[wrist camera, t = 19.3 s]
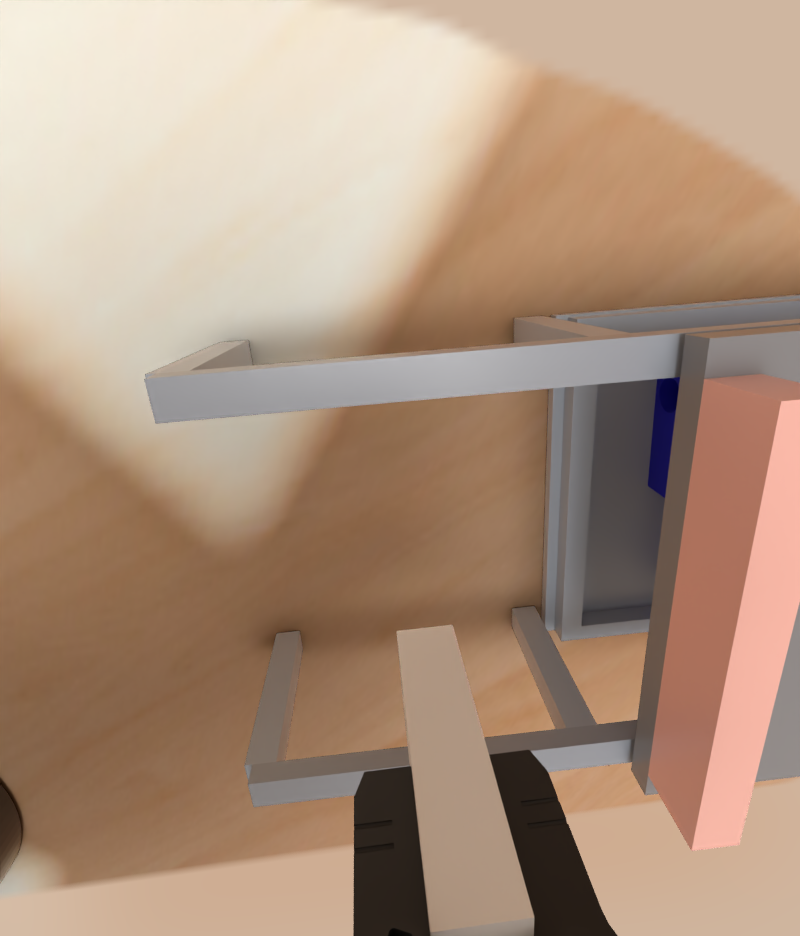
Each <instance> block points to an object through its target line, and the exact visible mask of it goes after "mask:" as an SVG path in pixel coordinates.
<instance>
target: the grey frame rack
mask: <svg viewBox="0 0 800 936" xmlns="http://www.w3.org/2000/svg"><path fill="white" fill-rule="evenodd" d="M790 325H800V294H796V295H784V296H772V297H760V298H748V299H736V300H724V301H712V302H700V303H688V304H676V305H664V306H652V307H640V308H628V309H616V310H603V311H591V312H579V313H567V314H555V315H551V317H546V316H531V317H519V318H514V343H509V344H498V345H486V346H474V347H462V348H450V349H439V350H427V351H415V352H403V353H392V354H380V355H368V356H356V357H345V358H333V359H321V360H309V361H297V362H286V363H274V364H262V365H253V363H252V358H251V352H250V347H249V341H248V340H242V341H230V342H219V343H217V344H214V345H212V346H210V347H207V348H205V349H203V350H200V351H198V352H196V353H193V354H191V355H189V356H187V357H184V358H182V359H180V360H177V361H175V362H173V363H170V364H168V365H166V366H163V367H161V368H159V369H156V370H154V371H152V372H149V373H147V374H145V377H146V378H145V379H144V380H145V384H146V388H147V392H148V396H149V400H150V403H151V407H152V411H153V415H154V419H155V423H168V422H179V421H190V420H201V419H213V418H224V417H235V416H246V415H258V414H269V413H280V412H291V411H303V410H314V409H325V408H336V407H348V406H359V405H370V404H381V403H393V402H404V401H415V400H427V399H438V398H449V397H460V396H472V395H483V394H494V393H505V392H517V391H528V390H539V389H549V390H548V422H547V454H546V485H545V517H544V549H543V580H542V612H541V618H540V616H539V614H538V612H537V610H536V608H535V606H529V607H520V608H512V628H513V631H514V633H515V635H516V638H517V640H518V642H519V645H520V647H521V649H522V652H523V654H524V656H525V659H526V661H527V663H528V666H529V668H530V670H531V673H532V675H533V677H534V680H535V682H536V684H537V686H538V689H539V691H540V693H541V696H542V698H543V700H544V703H545V705H546V707H547V710H548V712H549V714H550V717H551V719H552V721H553V724H554V726H555V728H556V729H554V730H546V731H537V732H528V733H520V734H511V735H503V736H494V737H485V738H484V739H485V742H486V746H487V749H488V753H489V755H490V754H498V753H506V752H514V751H522V750H530V751H531V752H532V754H533V755H534V756H535V757H536V758H537V759H538V760H539V762H540V763H541V764H542V765H543V766H544V767H545V768H546V770H547V771H548V772H554V771H562V770H570V769H579V768H587V767H595V766H604V765H612V764H621V763H629V762H632V760H633V752H634V744H635V736H636V728H637V720H632V721H623V722H615V723H606V724H596V722H595V720H594V718H593V716H592V714H591V713H590V711H589V709H588V707H587V705H586V703H585V701H584V699H583V697H582V695H581V694H580V692H579V690H578V688H577V686H576V684H575V682H574V680H573V678H572V677H571V675H570V673H569V671H568V669H567V667H566V665H565V663H564V661H563V659H562V658H561V656H560V654H559V652H558V650H557V648H556V646H555V644H554V642H553V640H552V639H551V637H550V635H549V633H548V631H550V630H555V631H556V633H557V634H558V636H559V638H560V640H561V641H568V640H577V639H586V638H596V637H605V636H614V635H623V634H632V633H641V632H648V631H649V623H650V615H651V607H652V599H653V591H654V583H655V575H656V567H657V559H658V551H659V543H660V535H661V527H662V519H663V511H664V503H665V498H664V497H662V496H661V495H660V494H658V493H657V492H655V491H654V490H653V489H651V488H650V487H649V486H648V476H649V464H650V453H651V442H652V430H653V419H654V408H655V396H656V385H657V379H663V378H674V377H680V374H681V366H682V358H683V350H684V342H685V334H696V333H708V332H719V331H731V330H743V329H754V328H766V327H778V326H790ZM302 653H303V646H302V641H301V635H300V631H293V632H284V633H277V634H276V638H275V642H274V646H273V650H272V654H271V658H270V662H269V666H268V671H267V675H266V679H265V683H264V687H263V691H262V695H261V699H260V703H259V707H258V712H257V716H256V720H255V724H254V728H253V732H252V736H251V740H250V744H249V748H248V752H247V757H246V761H245V765H244V766H245V770H246V774H247V778H248V787H249V791H250V795H251V799H252V803H253V807H260V806H268V805H277V804H285V803H293V802H302V801H310V800H319V799H327V798H335V797H344V796H352V795H355V794H356V791H357V789H358V786H359V784H360V781H361V779H362V776H363V774H364V772H367V771H375V770H382V769H390V768H398V767H406V766H410V763H409V754H408V747H399V748H390V749H382V750H373V751H365V752H356V753H347V754H339V755H330V756H321V757H313V758H304V759H295V760H287V761H285V758H286V752H287V745H288V739H289V733H290V727H291V721H292V714H293V708H294V702H295V696H296V690H297V684H298V677H299V671H300V665H301V659H302Z"/></svg>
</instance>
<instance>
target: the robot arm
mask: <svg viewBox="0 0 800 936" xmlns="http://www.w3.org/2000/svg"><path fill="white" fill-rule="evenodd" d="M397 642H398V653H399V664H400V675H401V686H402V697H403V708H404V717H405V726H406V735H407V745H408V754H409V763H410V766H406V767H398V768H390V769H382V770H375V771H367V772H364V774H363V776H362V779H361V781H360V784H359V786H358V789H357V791H356V794H355V796H354V936H617V935H616V933H615V932H614V930H613V929H612V928H611V926H610V925H609V924H608V922H607V920H606V918H605V916H604V914H603V912H602V910H601V907H600V905H599V902H598V900H597V897H596V895H595V892H594V889H593V887H592V884H591V882H590V879H589V876H588V874H587V871H586V869H585V866H584V864H583V861H582V858H581V856H580V853H579V851H578V848H577V846H576V843H575V840H574V838H573V835H572V833H571V830H570V828H569V825H568V824H567V822H566V817H565V815H564V812H563V810H562V807H561V805H560V802H559V801H558V798H557V794H556V792H555V789H554V787H553V784H552V781H551V779H550V776H549V774H548V771H547V770H546V768H545V767H544V766H543V765H542V764H541V763H540V762H539V760H538V759H537V758H536V757H535V756H534V755H533V754H532V752H531V751H530V750H522V751H514V752H506V753H498V754H490V755H489V753H488V749H487V746H486V742H485V739H484V735H483V732H482V728H481V724H480V721H479V717H478V714H477V710H476V706H475V703H474V699H473V696H472V692H471V689H470V685H469V681H468V678H467V674H466V671H465V667H464V664H463V660H462V656H461V653H460V649H459V646H458V642H457V638H456V635H455V631H454V628H453V625H444V626H435V627H426V628H417V629H408V630H400V631H397ZM20 843H21V824H20V819H19V816H18V813H17V810H16V808H15V805H14V803H13V802H12V800H11V798H10V797H9V795H8V794H7V792H6V791H5V789H4V788H3V787H2V786H1V784H0V883H1V881H2V880H3V878H4V876H5V875H6V873H7V872H8V870H9V868H10V867H11V865H12V863H13V862H14V860H15V858H16V856H17V853H18V851H19V848H20Z"/></svg>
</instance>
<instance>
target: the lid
mask: <svg viewBox="0 0 800 936" xmlns="http://www.w3.org/2000/svg"><path fill="white" fill-rule="evenodd" d="M631 770H632V772H633V774H634V776H635V778H636V779H637V781H638V783H639V785H640V787H641V789H642V790H643V792H644V794H645V795H652V794H659V795H660V797H661V799H662V800H663V802H664V804H665V806H666V807H667V809H668V811H669V812H670V814H671V816H672V817H673V819H674V821H675V823H676V825H677V826H678V828H679V830H680V832H681V833H682V835H683V837H684V839H685V840H686V842H687V844H688V845H689V847H690V849H691V850H692V851H695V850H703V849H710V848H718V847H726V846H734V845H739V844H740V840H741V835H742V831H743V827H744V824H745V820H746V816H747V812H748V808H749V804H750V799H751V795H752V792H753V788H754V784H755V782H758V781H766V780H774V779H783V778H791V777H799V776H800V325H790V326H778V327H766V328H754V329H743V330H731V331H719V332H708V333H696V334H685V342H684V350H683V358H682V366H681V374H680V382H679V390H678V398H677V406H676V414H675V422H674V430H673V439H672V447H671V455H670V463H669V471H668V479H667V487H666V495H665V503H664V511H663V519H662V527H661V535H660V543H659V551H658V559H657V567H656V575H655V583H654V591H653V599H652V607H651V615H650V623H649V631H648V639H647V647H646V655H645V663H644V671H643V679H642V687H641V696H640V704H639V712H638V720H637V728H636V736H635V744H634V752H633V760H632V768H631Z"/></svg>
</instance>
